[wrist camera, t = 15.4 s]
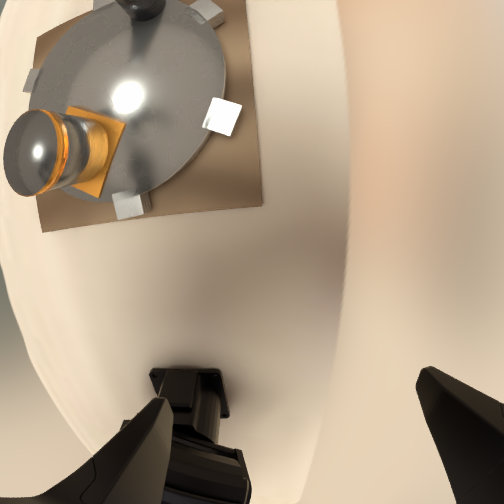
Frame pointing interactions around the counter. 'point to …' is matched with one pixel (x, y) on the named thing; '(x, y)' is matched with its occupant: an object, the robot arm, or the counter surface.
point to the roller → (53, 151)
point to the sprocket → (140, 92)
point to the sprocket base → (203, 165)
